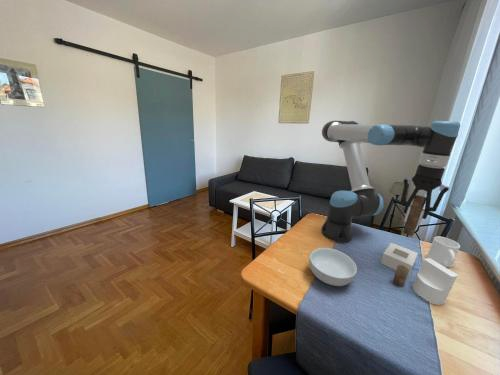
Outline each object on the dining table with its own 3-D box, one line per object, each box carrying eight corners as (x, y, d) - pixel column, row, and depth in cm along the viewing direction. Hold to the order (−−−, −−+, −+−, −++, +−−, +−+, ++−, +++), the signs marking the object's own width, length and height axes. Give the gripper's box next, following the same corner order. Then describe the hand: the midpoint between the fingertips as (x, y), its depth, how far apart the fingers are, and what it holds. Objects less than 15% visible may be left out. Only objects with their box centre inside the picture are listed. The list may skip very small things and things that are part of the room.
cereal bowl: (330, 300, 68) (334, 284, 66) (298, 268, 82) (300, 254, 80) (362, 283, 76) (367, 268, 73) (328, 257, 90) (331, 243, 87)
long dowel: (402, 232, 83) (414, 196, 77) (404, 230, 85) (415, 194, 80) (412, 236, 80) (425, 199, 75) (414, 233, 83) (427, 197, 77)
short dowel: (391, 283, 77) (396, 268, 74) (393, 278, 79) (398, 263, 77) (402, 288, 74) (408, 273, 72) (404, 283, 77) (410, 268, 74)
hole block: (380, 262, 87) (383, 253, 86) (388, 251, 95) (391, 242, 93) (408, 276, 81) (412, 265, 79) (414, 262, 88) (418, 253, 87)
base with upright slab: (451, 301, 70) (465, 273, 66) (432, 307, 67) (446, 278, 63) (423, 281, 78) (434, 256, 74) (406, 286, 75) (416, 260, 71)
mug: (460, 276, 82) (470, 255, 78) (435, 270, 84) (444, 249, 81) (445, 258, 92) (453, 238, 89) (423, 253, 95) (430, 234, 91)
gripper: (402, 162, 76) (385, 218, 84) (463, 172, 65) (437, 235, 73) (406, 160, 81) (390, 213, 89) (463, 169, 70) (440, 228, 78)
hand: (411, 222), depth 81 cm, fingers closed on long dowel, 3 cm apart
